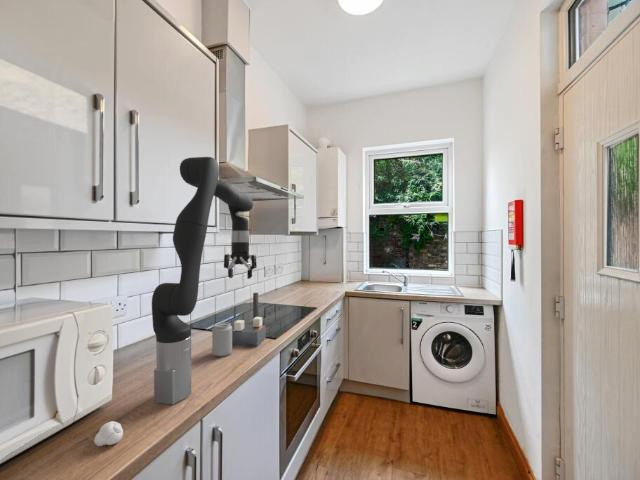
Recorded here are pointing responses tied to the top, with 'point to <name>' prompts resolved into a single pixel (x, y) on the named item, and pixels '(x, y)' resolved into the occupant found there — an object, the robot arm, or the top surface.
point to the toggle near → (239, 325)
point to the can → (222, 339)
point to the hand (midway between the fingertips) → (240, 278)
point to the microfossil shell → (109, 434)
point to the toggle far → (257, 322)
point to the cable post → (255, 305)
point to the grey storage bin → (249, 336)
